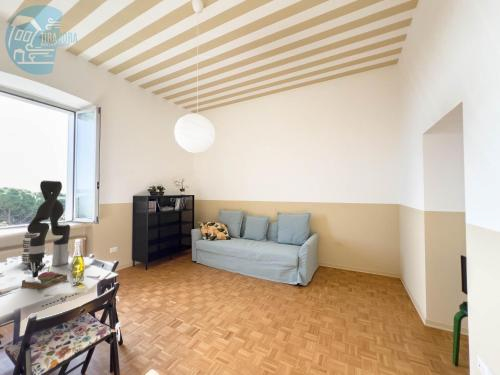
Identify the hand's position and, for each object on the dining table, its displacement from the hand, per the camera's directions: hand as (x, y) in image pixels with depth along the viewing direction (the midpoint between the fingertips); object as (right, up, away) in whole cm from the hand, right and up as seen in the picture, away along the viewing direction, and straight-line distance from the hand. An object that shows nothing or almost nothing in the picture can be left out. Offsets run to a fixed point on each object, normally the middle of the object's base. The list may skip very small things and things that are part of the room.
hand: (35, 277), depth 141 cm
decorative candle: (-41, -2, +34) cm, 53 cm away
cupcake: (+10, -3, -3) cm, 11 cm away
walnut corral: (+9, -3, -2) cm, 10 cm away
